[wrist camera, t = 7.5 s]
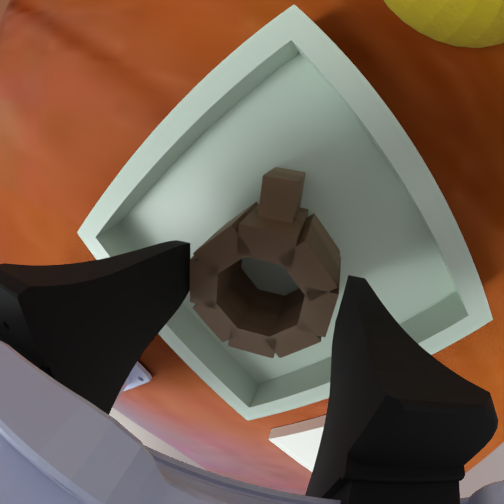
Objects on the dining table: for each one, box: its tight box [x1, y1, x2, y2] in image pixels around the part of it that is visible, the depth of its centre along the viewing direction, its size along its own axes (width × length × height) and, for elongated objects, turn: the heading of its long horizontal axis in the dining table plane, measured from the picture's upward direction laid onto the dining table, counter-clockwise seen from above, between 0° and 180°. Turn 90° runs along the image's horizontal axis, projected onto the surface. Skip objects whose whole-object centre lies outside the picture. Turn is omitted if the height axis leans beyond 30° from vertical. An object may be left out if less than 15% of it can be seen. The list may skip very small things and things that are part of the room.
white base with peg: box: [269, 415, 326, 472], centre depth 16 cm, size 8×8×5 cm
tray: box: [77, 5, 493, 421], centre depth 13 cm, size 14×14×2 cm
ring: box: [190, 167, 341, 358], centre depth 12 cm, size 7×5×3 cm
